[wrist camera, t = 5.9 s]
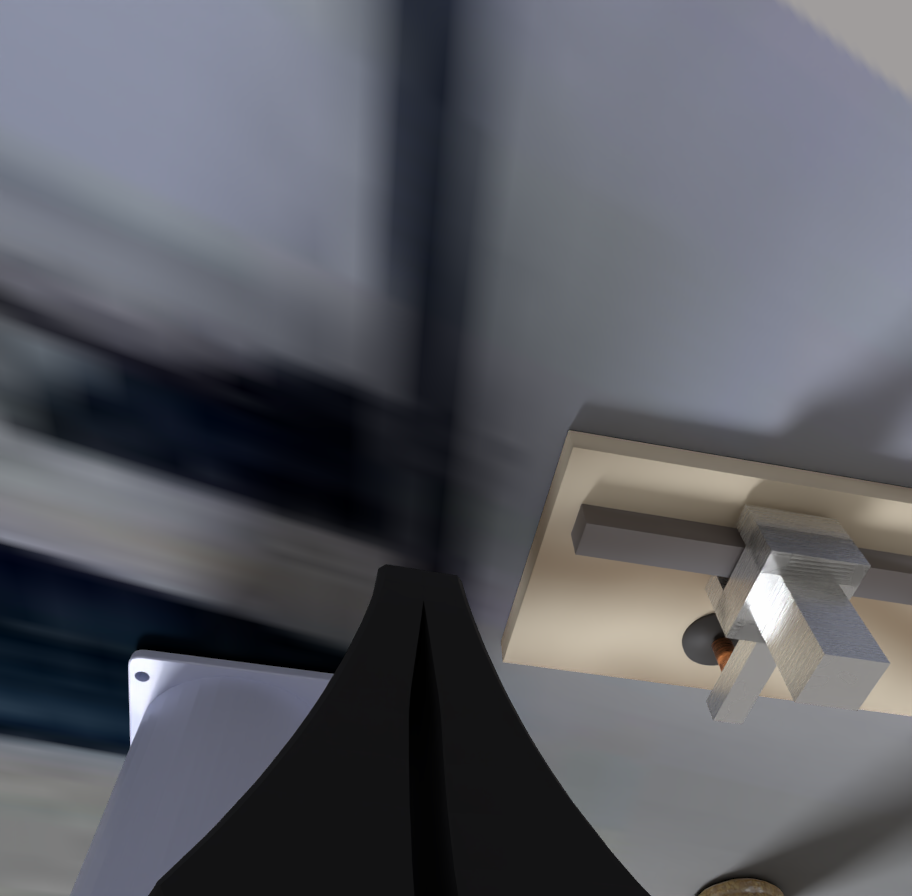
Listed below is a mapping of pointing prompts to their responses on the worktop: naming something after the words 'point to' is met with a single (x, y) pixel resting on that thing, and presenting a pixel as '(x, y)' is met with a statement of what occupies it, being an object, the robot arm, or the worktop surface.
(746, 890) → the sprinkles bottle
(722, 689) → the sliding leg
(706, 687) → the board
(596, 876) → the robot arm
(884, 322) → the worktop surface
